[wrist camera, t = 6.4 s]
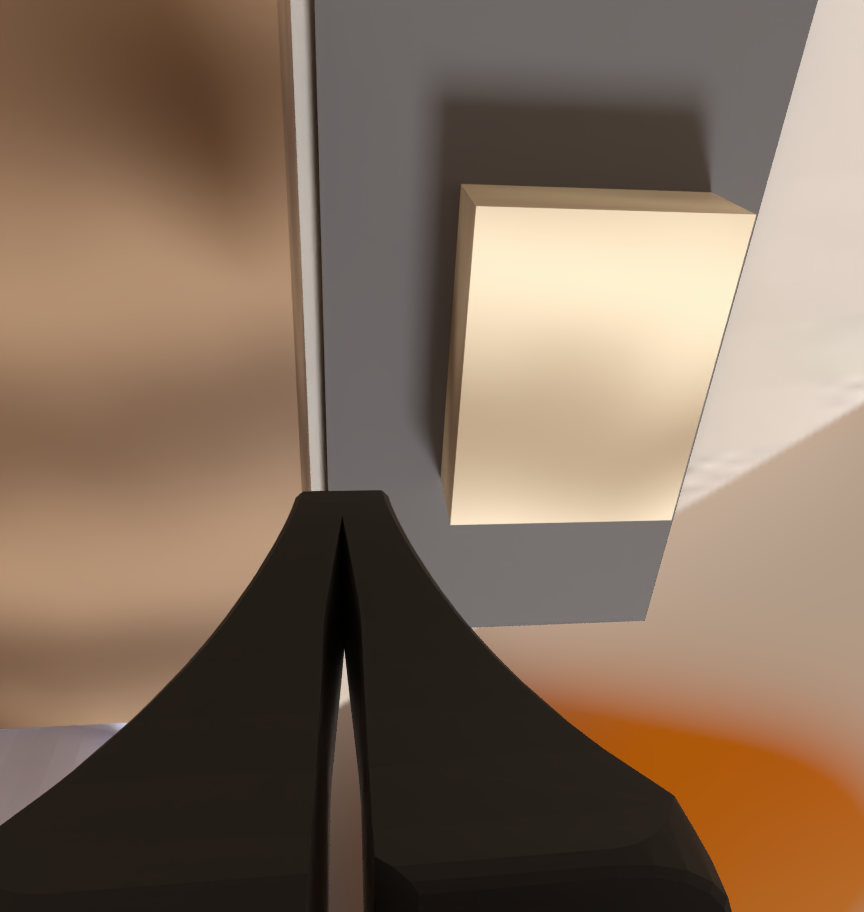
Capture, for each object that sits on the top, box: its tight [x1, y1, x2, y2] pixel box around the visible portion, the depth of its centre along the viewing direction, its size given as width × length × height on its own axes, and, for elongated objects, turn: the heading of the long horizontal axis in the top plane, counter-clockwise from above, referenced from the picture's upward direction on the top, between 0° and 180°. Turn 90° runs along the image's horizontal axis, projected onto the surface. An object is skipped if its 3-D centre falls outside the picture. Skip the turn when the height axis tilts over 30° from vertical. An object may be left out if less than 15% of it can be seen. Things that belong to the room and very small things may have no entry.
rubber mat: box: [314, 0, 818, 627], centre depth 19 cm, size 18×10×1 cm, turn 177°
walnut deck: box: [0, 0, 311, 729], centre depth 17 cm, size 18×10×4 cm, turn 177°
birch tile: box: [441, 184, 756, 525], centre depth 18 cm, size 8×6×2 cm
